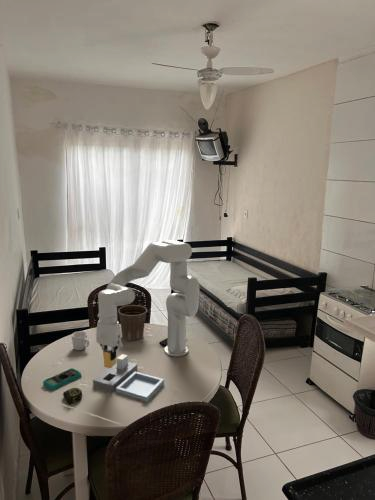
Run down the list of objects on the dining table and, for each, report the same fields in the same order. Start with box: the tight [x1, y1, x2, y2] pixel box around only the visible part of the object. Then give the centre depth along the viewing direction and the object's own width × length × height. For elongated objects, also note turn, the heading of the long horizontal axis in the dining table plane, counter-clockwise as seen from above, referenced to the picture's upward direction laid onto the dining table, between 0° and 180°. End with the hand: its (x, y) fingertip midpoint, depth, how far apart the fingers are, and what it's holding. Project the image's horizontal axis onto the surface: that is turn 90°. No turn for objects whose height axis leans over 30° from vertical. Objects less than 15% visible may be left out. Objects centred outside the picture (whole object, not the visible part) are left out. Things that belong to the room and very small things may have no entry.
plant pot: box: [117, 304, 148, 342], centre depth 209 cm, size 16×16×16 cm
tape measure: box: [62, 387, 83, 405], centre depth 151 cm, size 7×7×4 cm
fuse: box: [116, 353, 129, 370], centre depth 170 cm, size 4×3×8 cm, turn 156°
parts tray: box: [115, 371, 165, 404], centre depth 159 cm, size 15×15×2 cm
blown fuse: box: [103, 346, 117, 369], centre depth 160 cm, size 4×3×8 cm, turn 156°
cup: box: [71, 330, 90, 351], centre depth 193 cm, size 11×8×8 cm
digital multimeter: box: [42, 368, 82, 391], centre depth 164 cm, size 8×16×3 cm, turn 141°
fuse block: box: [92, 361, 138, 393], centre depth 166 cm, size 20×10×4 cm, turn 156°
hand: (109, 357), depth 160 cm, fingers closed on blown fuse, 3 cm apart
